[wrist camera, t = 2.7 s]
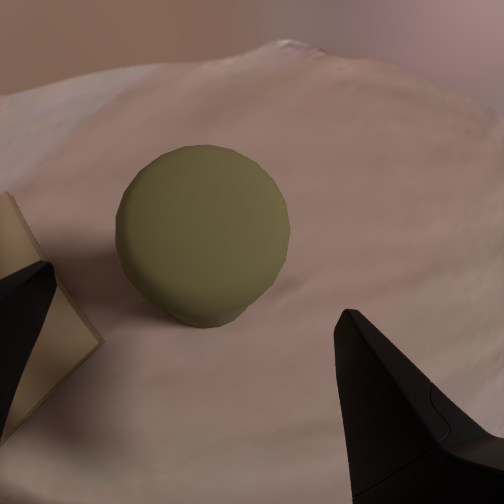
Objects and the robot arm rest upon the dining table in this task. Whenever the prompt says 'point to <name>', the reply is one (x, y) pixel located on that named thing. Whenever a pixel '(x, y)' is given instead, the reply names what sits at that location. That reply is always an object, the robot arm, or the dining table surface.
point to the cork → (202, 233)
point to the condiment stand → (54, 328)
